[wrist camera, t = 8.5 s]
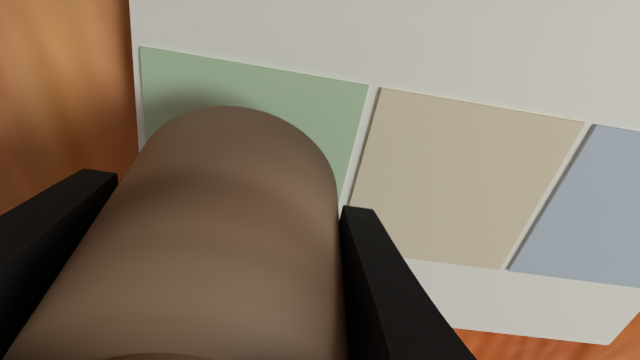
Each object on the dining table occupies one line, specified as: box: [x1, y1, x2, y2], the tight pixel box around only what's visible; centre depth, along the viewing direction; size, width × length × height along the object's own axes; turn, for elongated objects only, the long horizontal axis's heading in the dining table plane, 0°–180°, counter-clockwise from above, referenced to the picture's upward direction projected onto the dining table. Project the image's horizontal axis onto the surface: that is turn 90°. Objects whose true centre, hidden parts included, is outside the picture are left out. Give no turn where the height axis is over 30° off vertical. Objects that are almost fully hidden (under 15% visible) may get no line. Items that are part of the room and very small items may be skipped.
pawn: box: [2, 106, 349, 360], centre depth 7 cm, size 4×4×6 cm
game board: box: [129, 0, 640, 345], centre depth 12 cm, size 11×16×1 cm
